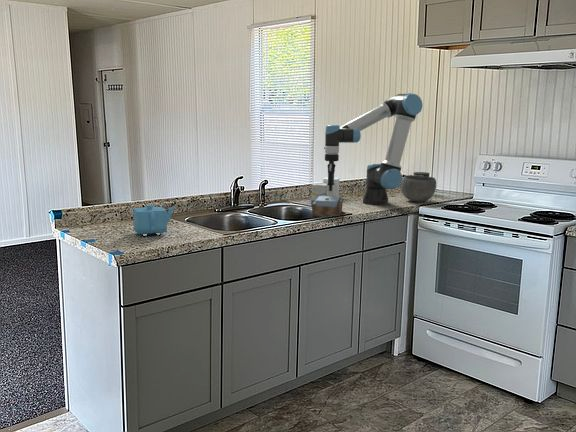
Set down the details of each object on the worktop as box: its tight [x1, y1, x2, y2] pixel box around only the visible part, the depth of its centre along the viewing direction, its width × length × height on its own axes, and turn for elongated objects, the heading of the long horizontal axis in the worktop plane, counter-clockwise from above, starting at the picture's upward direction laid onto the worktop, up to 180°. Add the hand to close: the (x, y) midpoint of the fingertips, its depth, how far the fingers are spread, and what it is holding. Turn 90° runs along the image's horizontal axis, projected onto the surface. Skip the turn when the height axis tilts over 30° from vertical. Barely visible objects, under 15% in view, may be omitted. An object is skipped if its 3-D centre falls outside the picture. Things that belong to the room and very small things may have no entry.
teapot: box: [132, 204, 178, 235], centre depth 244 cm, size 18×16×13 cm
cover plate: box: [315, 196, 341, 207], centre depth 297 cm, size 11×16×4 cm
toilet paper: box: [322, 176, 341, 197], centre depth 351 cm, size 10×10×12 cm
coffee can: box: [412, 171, 430, 177], centre depth 370 cm, size 10×10×14 cm
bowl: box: [400, 174, 437, 203], centre depth 341 cm, size 20×20×15 cm
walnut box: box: [311, 199, 343, 218], centre depth 298 cm, size 14×18×6 cm
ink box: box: [310, 182, 328, 206], centre depth 327 cm, size 9×8×12 cm
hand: (330, 196), depth 310 cm, fingers closed
